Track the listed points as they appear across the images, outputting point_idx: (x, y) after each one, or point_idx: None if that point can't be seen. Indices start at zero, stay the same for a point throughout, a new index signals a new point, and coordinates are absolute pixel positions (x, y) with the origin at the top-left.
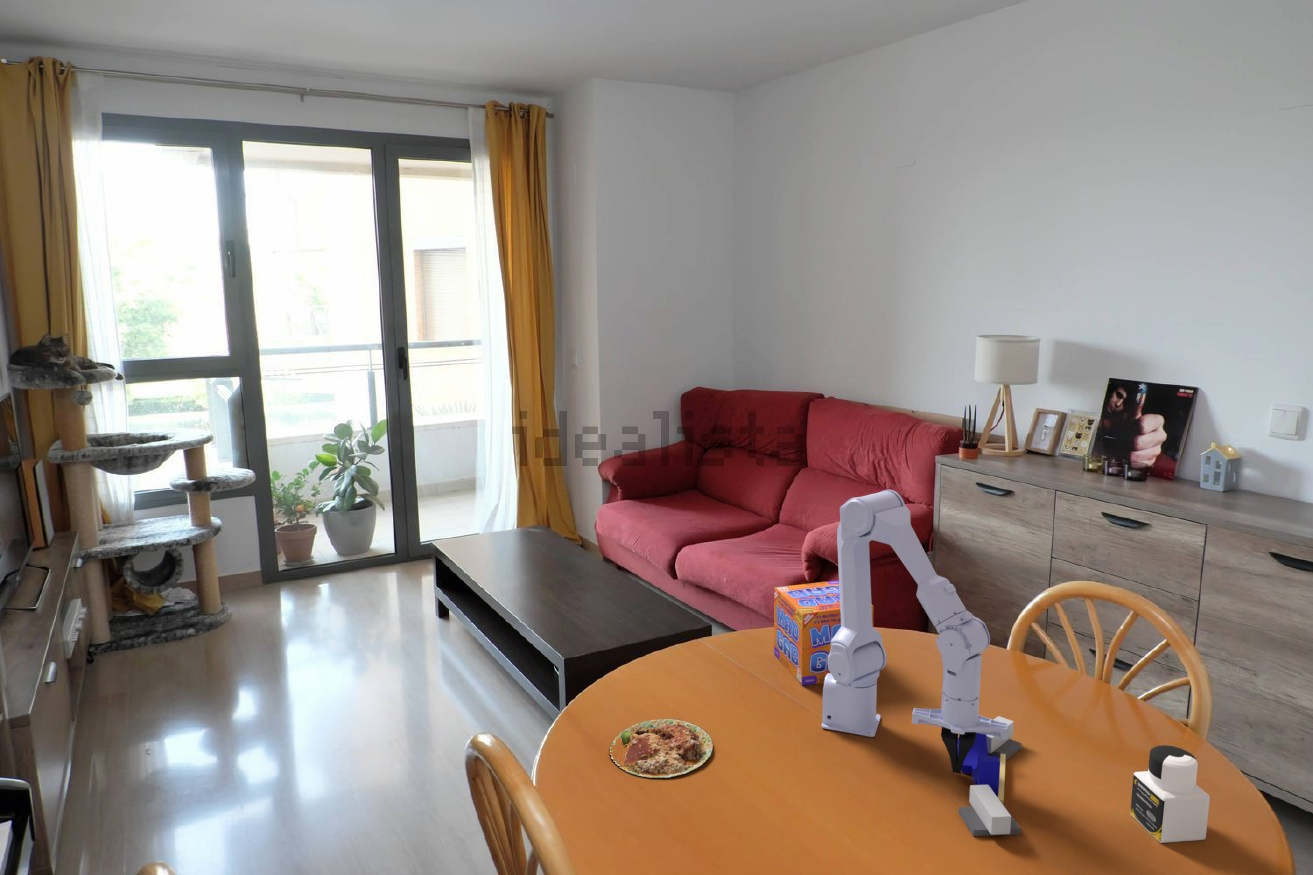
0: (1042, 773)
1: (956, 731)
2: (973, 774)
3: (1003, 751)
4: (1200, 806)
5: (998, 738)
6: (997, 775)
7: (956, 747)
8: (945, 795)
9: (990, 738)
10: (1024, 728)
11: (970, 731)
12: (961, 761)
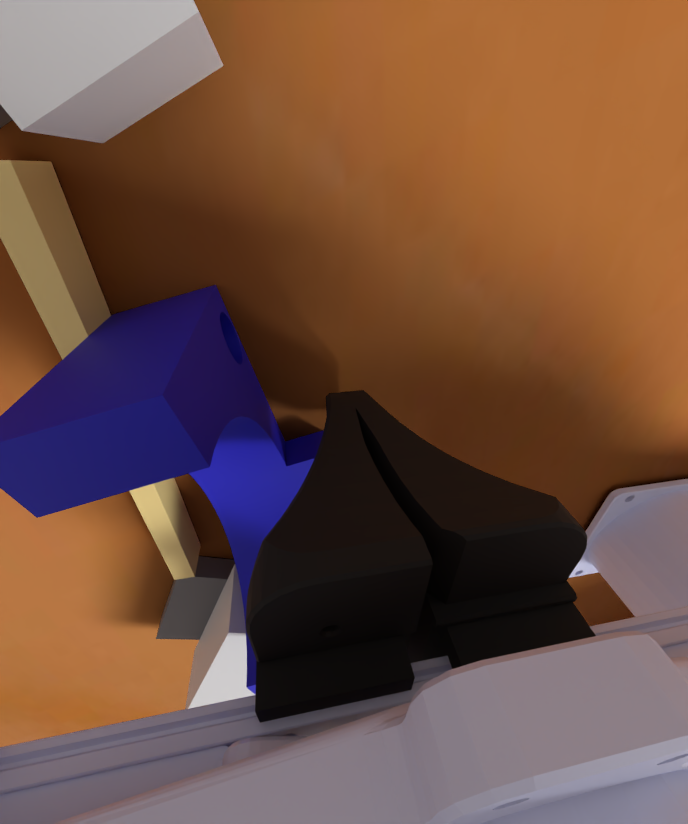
0: (24, 548)
1: (604, 693)
2: (268, 418)
3: (195, 588)
4: None
5: (215, 635)
6: (60, 371)
7: (396, 490)
8: (386, 192)
9: (233, 628)
10: (187, 674)
11: (310, 754)
12: (336, 428)
